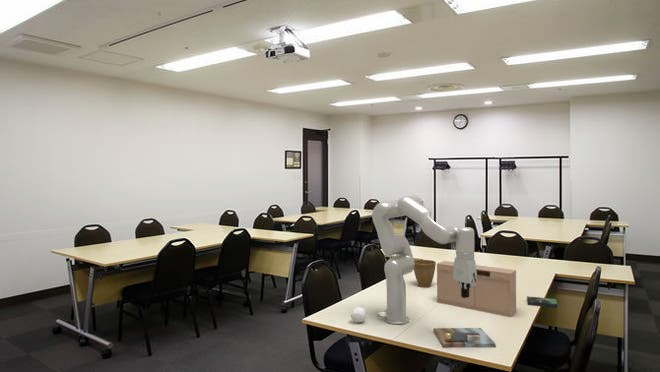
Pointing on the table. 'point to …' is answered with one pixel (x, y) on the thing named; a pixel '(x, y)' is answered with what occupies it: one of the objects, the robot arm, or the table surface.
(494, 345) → the plate
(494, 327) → the table surface
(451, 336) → the lock bar
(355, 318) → the white ball
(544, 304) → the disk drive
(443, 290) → the box
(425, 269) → the plant pot
